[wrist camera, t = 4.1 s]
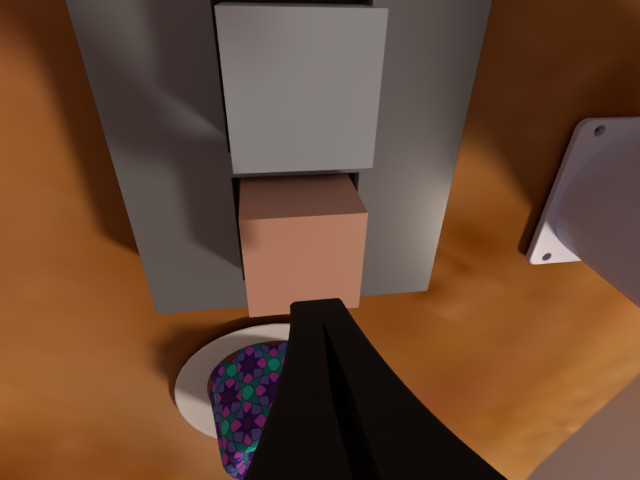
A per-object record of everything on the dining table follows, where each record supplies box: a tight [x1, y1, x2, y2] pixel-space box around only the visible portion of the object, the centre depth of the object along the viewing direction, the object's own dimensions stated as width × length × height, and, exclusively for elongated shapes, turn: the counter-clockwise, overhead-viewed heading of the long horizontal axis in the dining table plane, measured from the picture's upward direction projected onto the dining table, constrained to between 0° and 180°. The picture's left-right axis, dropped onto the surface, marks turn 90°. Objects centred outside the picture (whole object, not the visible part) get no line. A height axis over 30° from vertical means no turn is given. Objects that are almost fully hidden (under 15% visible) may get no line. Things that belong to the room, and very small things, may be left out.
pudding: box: [174, 324, 290, 480], centre depth 23 cm, size 12×12×5 cm
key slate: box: [214, 2, 389, 174], centre depth 11 cm, size 4×4×3 cm
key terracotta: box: [239, 173, 368, 317], centre depth 14 cm, size 4×4×3 cm
